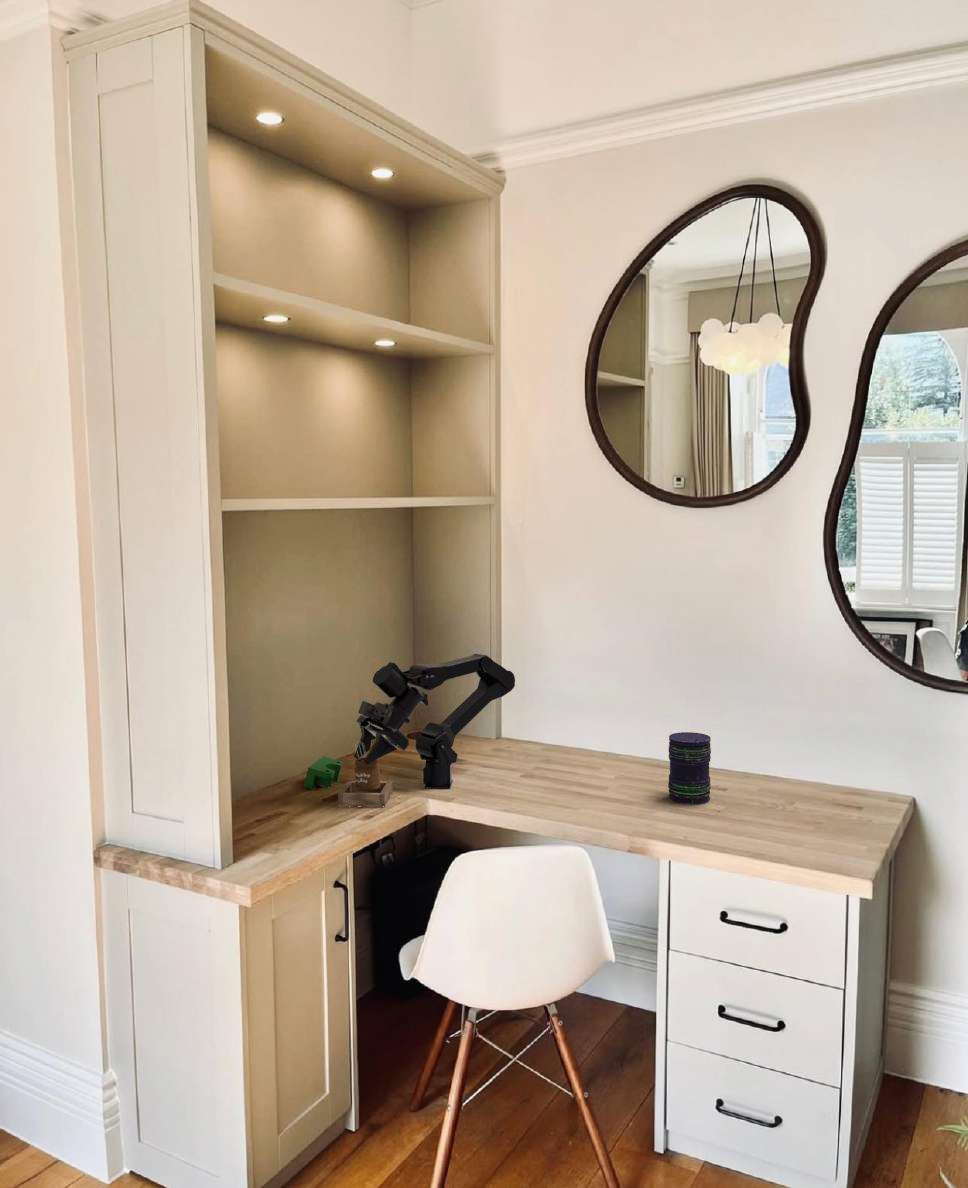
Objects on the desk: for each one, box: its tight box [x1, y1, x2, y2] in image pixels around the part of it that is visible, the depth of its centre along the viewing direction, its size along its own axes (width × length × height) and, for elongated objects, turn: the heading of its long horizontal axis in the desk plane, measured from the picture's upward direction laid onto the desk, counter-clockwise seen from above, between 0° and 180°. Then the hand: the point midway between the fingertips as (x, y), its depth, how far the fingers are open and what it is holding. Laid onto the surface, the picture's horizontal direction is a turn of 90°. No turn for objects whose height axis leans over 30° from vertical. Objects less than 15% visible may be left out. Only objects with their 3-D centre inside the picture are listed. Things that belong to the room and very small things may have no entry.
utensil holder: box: [354, 739, 381, 791], centre depth 239 cm, size 6×6×12 cm
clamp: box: [303, 755, 344, 790], centre depth 254 cm, size 12×6×9 cm, turn 164°
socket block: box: [337, 780, 393, 808], centre depth 240 cm, size 11×11×4 cm
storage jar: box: [667, 731, 712, 806], centre depth 238 cm, size 10×10×15 cm
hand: (360, 760), depth 238 cm, fingers closed on utensil holder, 5 cm apart
